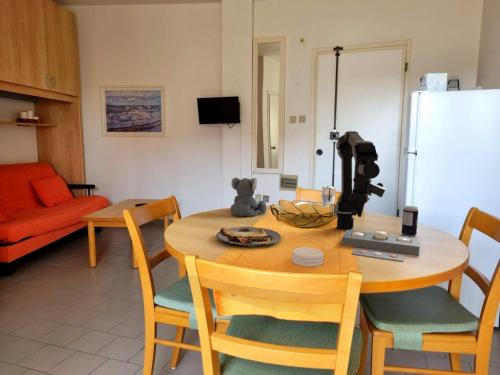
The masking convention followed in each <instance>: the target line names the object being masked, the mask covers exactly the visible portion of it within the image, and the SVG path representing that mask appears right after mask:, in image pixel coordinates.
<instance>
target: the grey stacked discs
mask: <svg viewBox="0 0 500 375" xmlns="http://www.w3.org/2000/svg"><path fill="white" fill-rule="evenodd" d="M291 262H292V263H294V264H295V265H297V266H300V267H307V268H313V267H320V266H322V265H323V264H324V252H323V250H320V249H318V248H315V247H309V246H307V247H305V246H304V247H303V246H302V247H301V246H300V247H296V248H294V249H292V250H291Z"/></svg>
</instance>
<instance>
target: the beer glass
mask: <svg viewBox="0 0 500 375" xmlns="http://www.w3.org/2000/svg"><path fill="white" fill-rule="evenodd" d="M321 187H322V188H321V195H320V196H321V205H323V206H329V205H330V204H334V205H335V202H336V186H330V185H323V186H321Z"/></svg>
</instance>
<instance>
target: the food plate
mask: <svg viewBox="0 0 500 375" xmlns="http://www.w3.org/2000/svg"><path fill="white" fill-rule="evenodd" d="M215 237H216V238H217V240H220V241H222V242H223V243H228V244H231V245H233V244H235V245H237V246H239V245H241V246H244V247H251V248H253V247H256V246H262V245H264V246H265V245H270V244H276V243H278V241H279V240H280V239H281V238H282V235H281V234H280V233H279V232H278V231H275V230H273V229H269V228H264V227H254V226H239V227H238V226H237V227H231V228H226V227H222V228H220V230H219V231H218V232H217V233H216V235H215Z"/></svg>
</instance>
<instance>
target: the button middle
mask: <svg viewBox="0 0 500 375" xmlns="http://www.w3.org/2000/svg"><path fill="white" fill-rule="evenodd" d="M373 233H374V239H383V240H387V234H388V233H387V231H381V230H376V231H374V232H373Z"/></svg>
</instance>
